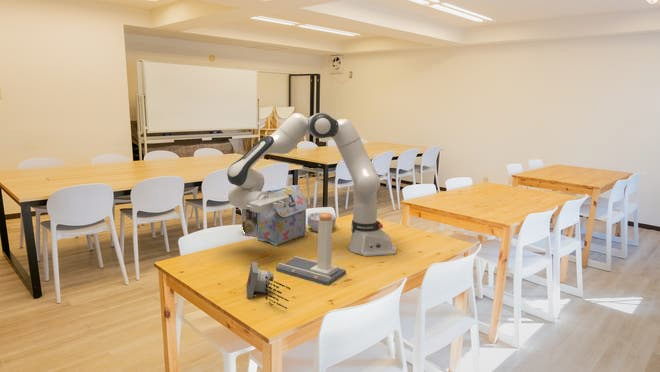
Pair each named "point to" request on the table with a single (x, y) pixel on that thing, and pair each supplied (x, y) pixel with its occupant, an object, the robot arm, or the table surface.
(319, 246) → the slider handle
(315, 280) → the slider track
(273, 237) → the lunch bag
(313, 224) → the paper bowls
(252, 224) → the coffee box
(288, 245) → the table surface
